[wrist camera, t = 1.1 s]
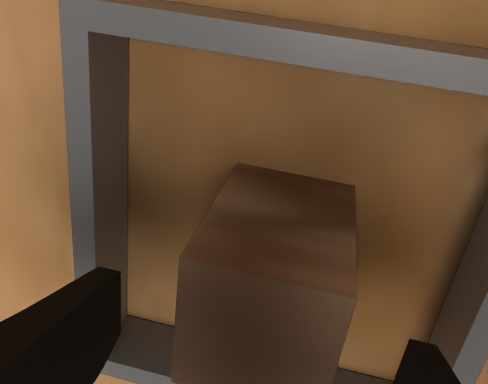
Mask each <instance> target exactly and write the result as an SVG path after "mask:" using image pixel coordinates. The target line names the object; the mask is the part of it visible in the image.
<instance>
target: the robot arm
mask: <svg viewBox="0 0 488 384" xmlns="http://www.w3.org/2000/svg"><path fill="white" fill-rule="evenodd" d="M120 333H121V271H117V270H112V269H108V268H104V267H99V266H98V267H97V268H95V269H93V270H91V271H89V272H88V273H86V274H84V275H83V276H81V277H79V278H78V279H76V280H74V281H73V282H71V283H69V284H67V285H66V286H64V287H62V288H61V289H59V290H57V291H56V292H54V293H52V294H50V295H49V296H47V297H45V298H44V299H42V300H40V301H38V302H37V303H35V304H33V305H31V306H30V307H28V308H26V309H24V310H22V311H20V312H19V313H17V314H15V315H13V316H11V317H9V318H7V319H5V320H3V321H1V322H0V384H93V383H94V382H95V380H96V379H97V377H98V376H99V374H100V372H101V371H102V369H103V368H104V366H105V364H106V362H107V360H108V358H109V356H110V354H111V352H112V350H113V348H114V346H115V344H116V342H117V339H118V337H119V335H120ZM393 384H461V383H460V381H459V379H458V378H457V376H456V375H455V373H454V371H453V370H452V368H451V367H450V365H449V364H448V362H447V360H446V359H445V357H444V356H443V354H442V353H441V351H440V349H439V348H438V346H437V345H435V344H430V343H426V342H422V341H417V340H413V339H409V342H408V345H407V347H406V350H405V352H404V355H403V358H402V360H401V363H400V366H399V368H398V371H397V374H396V376H395V379H394V382H393Z"/></svg>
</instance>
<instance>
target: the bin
mask: <svg viewBox="0 0 488 384" xmlns="http://www.w3.org/2000/svg"><path fill="white" fill-rule="evenodd" d="M59 16H60V33H61V50H62V67H63V84H64V101H65V118H66V135H67V152H68V169H69V187H70V204H71V221H72V238H73V255H74V272H75V280H76V279H78V278H79V277H81V276H83V275H84V274H86V273H88V272H89V271H91V270H93V269H95V268H97V267H98V266H99V267H104V268H108V269H112V270H117V271H121V333H120V335H119V337H118V339H117V342H116V344H115V346H114V348H113V350H112V352H111V354H110V356H109V358H108V360H107V362H106V364H105V366H104V368H103V369H102V371H101V372H100V373H101V374H104V375H108V376H112V377H115V378H119V379H123V380H126V381H130V382H134V383H137V384H176V383H173V382H171V372H172V358H173V343H174V328H175V327H171V326H167V325H163V324H159V323H155V322H151V321H147V320H143V319H139V318H135V317H131V316H127V206H128V38H133V39H140V40H146V41H152V42H158V43H164V44H170V45H176V46H183V47H189V48H195V49H201V50H207V51H213V52H220V53H226V54H232V55H238V56H244V57H250V58H256V59H263V60H269V61H275V62H281V63H287V64H293V65H300V66H306V67H312V68H318V69H324V70H330V71H336V72H343V73H349V74H355V75H361V76H367V77H373V78H380V79H386V80H392V81H398V82H404V83H410V84H416V85H423V86H429V87H435V88H441V89H447V90H453V91H459V92H466V93H472V94H478V95H484V96H488V49H485V48H478V47H472V46H465V45H458V44H451V43H445V42H438V41H431V40H425V39H418V38H411V37H405V36H398V35H391V34H384V33H378V32H371V31H364V30H358V29H351V28H344V27H337V26H331V25H324V24H317V23H311V22H304V21H297V20H291V19H284V18H277V17H270V16H264V15H257V14H250V13H244V12H237V11H230V10H224V9H217V8H210V7H203V6H197V5H190V4H183V3H177V2H170V1H163V0H59ZM428 343H430V344H435V345H437V346H438V348H439V349H440V351H441V353H442V354H443V356H444V357H445V359H446V360H447V362H448V364H449V365H450V367H451V368H452V370H453V371H454V373H455V375H456V376H457V378H458V379H459V381H460V383H461V384H475V383H476V381H477V379H478V377H479V375H480V373H481V371H482V369H483V367H484V365H485V363H486V361H487V359H488V196H487V198H486V201H485V203H484V206H483V208H482V211H481V213H480V216H479V218H478V221H477V223H476V225H475V228H474V230H473V233H472V235H471V238H470V240H469V243H468V245H467V248H466V250H465V253H464V255H463V257H462V260H461V262H460V265H459V267H458V270H457V272H456V275H455V277H454V280H453V282H452V285H451V287H450V290H449V292H448V294H447V297H446V299H445V302H444V304H443V307H442V309H441V312H440V314H439V317H438V319H437V322H436V324H435V326H434V329H433V331H432V334H431V336H430V339H429V341H428ZM332 384H393V382H391V381H387V380H383V379H379V378H375V377H371V376H367V375H363V374H359V373H355V372H351V371H347V370H343V369H339V368H336V372H335V375H334V379H333V382H332Z"/></svg>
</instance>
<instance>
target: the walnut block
mask: <svg viewBox="0 0 488 384" xmlns="http://www.w3.org/2000/svg"><path fill="white" fill-rule="evenodd" d="M356 300H357V274H356V213H355V186H353V185H348V184H343V183H338V182H333V181H328V180H323V179H317V178H312V177H307V176H302V175H297V174H292V173H287V172H282V171H276V170H271V169H266V168H261V167H256V166H251V165H246V164H241V163H238V164H237V165H236V167H235V168H234V170H233V172H232V173H231V175H230V176H229V178H228V180H227V181H226V183H225V185H224V186H223V188H222V189H221V191H220V193H219V194H218V196H217V198H216V199H215V201H214V202H213V204H212V206H211V207H210V209H209V211H208V212H207V214H206V215H205V217H204V219H203V220H202V222H201V224H200V225H199V227H198V228H197V230H196V232H195V233H194V235H193V237H192V238H191V240H190V241H189V243H188V245H187V246H186V248H185V249H184V251H183V253H182V254H181V256H180V258H179V269H178V284H177V299H176V313H175V328H174V343H173V358H172V372H171V382H173V383H176V384H332V382H333V379H334V375H335V372H336V368H337V365H338V362H339V358H340V355H341V351H342V348H343V345H344V341H345V338H346V334H347V331H348V328H349V324H350V321H351V317H352V314H353V311H354V307H355V304H356Z"/></svg>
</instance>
